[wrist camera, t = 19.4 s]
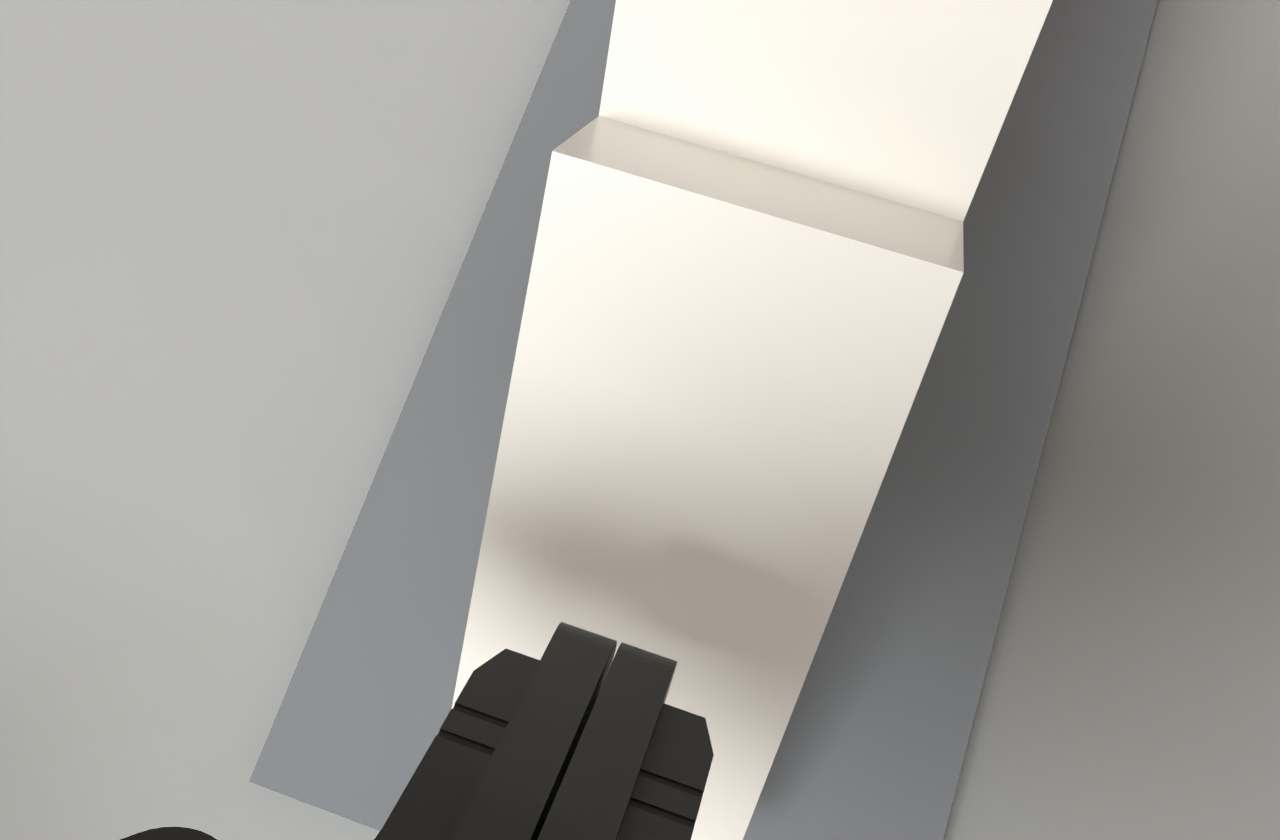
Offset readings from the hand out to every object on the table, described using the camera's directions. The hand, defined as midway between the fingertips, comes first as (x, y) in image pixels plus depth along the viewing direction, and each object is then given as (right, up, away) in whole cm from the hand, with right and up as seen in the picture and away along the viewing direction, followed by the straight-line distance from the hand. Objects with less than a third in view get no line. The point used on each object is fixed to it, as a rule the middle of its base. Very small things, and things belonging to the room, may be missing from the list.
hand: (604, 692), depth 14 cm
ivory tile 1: (0, -3, +6) cm, 6 cm away
